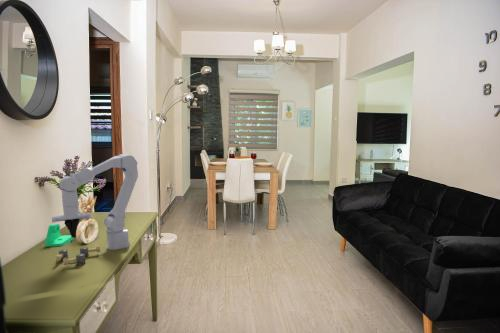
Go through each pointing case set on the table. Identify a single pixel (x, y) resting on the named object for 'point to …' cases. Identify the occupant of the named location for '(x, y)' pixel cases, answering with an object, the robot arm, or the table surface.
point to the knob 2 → (75, 259)
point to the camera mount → (56, 236)
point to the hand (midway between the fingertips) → (73, 236)
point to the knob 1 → (62, 255)
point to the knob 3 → (89, 250)
